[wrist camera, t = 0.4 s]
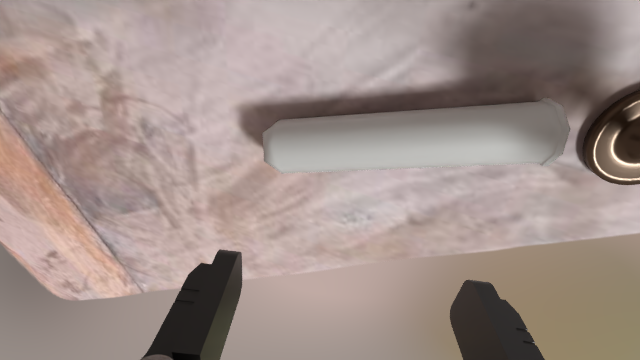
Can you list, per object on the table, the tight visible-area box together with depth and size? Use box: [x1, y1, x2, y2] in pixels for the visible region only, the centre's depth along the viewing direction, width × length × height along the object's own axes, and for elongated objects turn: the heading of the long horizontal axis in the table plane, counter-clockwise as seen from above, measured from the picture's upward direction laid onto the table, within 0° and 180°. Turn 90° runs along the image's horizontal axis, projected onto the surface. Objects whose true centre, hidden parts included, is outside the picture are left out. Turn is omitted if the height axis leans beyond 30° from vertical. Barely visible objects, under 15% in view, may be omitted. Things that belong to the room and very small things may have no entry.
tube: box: [262, 98, 570, 174], centre depth 28 cm, size 5×5×25 cm
